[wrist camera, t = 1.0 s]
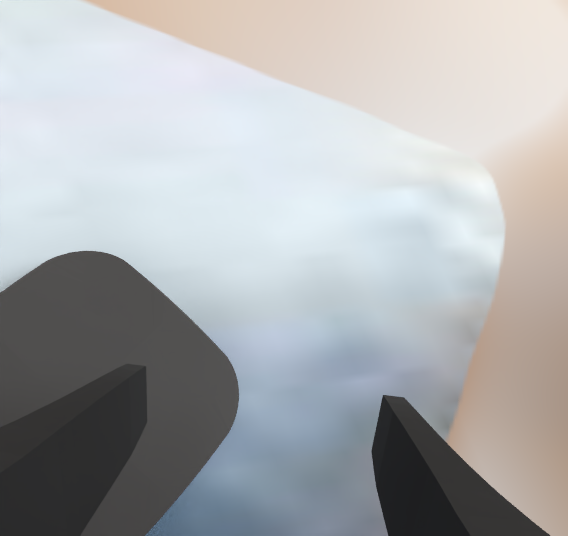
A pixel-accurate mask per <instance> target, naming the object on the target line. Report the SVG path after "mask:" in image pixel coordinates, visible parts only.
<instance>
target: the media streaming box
mask: <svg viewBox="0 0 568 536" xmlns="http://www.w3.org/2000/svg"><path fill="white" fill-rule="evenodd" d="M125 364H134V365H142V366H146V382H147V424H146V426H145V428H144V430H143V432H142V434H141V437H140V439H139V441H138V443H137V445H136V447H135V449H134V451H133V453H132V455H131V456H130V458H129V460H128V461H127V463H126V465H125V466H124V468H123V469H122V471H121V472H120V474H119V476H118V477H117V479H116V480H115V482H114V484H113V485H112V487H111V488H110V490H109V491H108V493H107V494H106V496H105V498H104V499H103V501H102V502H101V504H100V505H99V507H98V509H97V510H96V512H95V513H94V515H93V516H92V518H91V519H90V521H89V523H88V524H87V526H86V527H85V529H84V530H83V532H82V534H81V535H80V536H145V535H146V534H147V533H148V532H149V530H150V529H151V528H152V527H153V526H154V525H155V524H156V523H157V522H158V520H159V519H160V518H161V517H162V516H163V515H164V514H165V513H166V511H167V510H168V509H169V508H170V507H171V506H172V504H173V503H174V502H175V501H176V500H177V499H178V497H179V496H180V495H181V494H182V493H183V491H184V490H185V489H186V488H187V487H188V485H189V484H190V483H191V482H192V480H193V479H194V478H195V477H196V475H197V474H198V473H199V472H200V470H201V469H202V468H203V466H204V465H205V464H206V463H207V461H208V460H209V459H210V457H211V456H212V455H213V453H214V452H215V451H216V449H217V448H218V447H219V445H220V444H221V442H222V441H223V440H224V438H225V437H226V436H227V434H228V433H229V431H230V429H231V427H232V425H233V422H234V420H235V417H236V413H237V408H238V401H239V388H238V381H237V377H236V374H235V371H234V369H233V367H232V364H231V363H230V361H229V359H228V357H227V356H226V355H225V354H224V353H223V352H222V351H221V350H220V349H219V347H218V346H217V345H216V344H215V343H214V342H213V341H212V340H211V339H210V338H209V337H208V336H207V335H206V334H205V333H204V332H203V331H202V330H201V329H200V328H199V327H198V326H197V325H196V324H195V323H194V322H193V321H192V320H191V319H190V318H189V317H188V316H187V315H186V314H185V313H184V312H183V311H182V310H181V309H180V308H179V307H177V306H176V305H175V304H174V303H173V302H172V301H171V300H170V299H169V298H168V297H167V296H166V295H164V294H163V293H162V292H161V291H160V290H159V289H158V288H157V287H155V286H154V285H153V284H152V283H151V282H150V281H148V280H147V279H146V278H145V277H144V276H143V275H141V274H140V273H139V272H138V271H137V270H135V269H134V268H133V267H132V266H130V265H129V264H128V263H127V262H125V261H124V260H122V259H120V258H119V257H116V256H114V255H111V254H108V253H103V252H96V251H79V252H72V253H67V254H64V255H60V256H57V257H55V258H52V259H50V260H48V261H46V262H44V263H43V264H41V265H40V266H38V267H37V268H35V269H34V270H32V271H31V272H29V273H28V274H26V275H25V276H23V277H22V278H21V279H19V280H18V281H16V282H15V283H13V284H12V285H11V286H9V287H8V288H7V289H5V290H4V291H2V292H1V293H0V427H2V426H4V425H6V424H9V423H11V422H13V421H15V420H17V419H20V418H22V417H24V416H26V415H28V414H30V413H32V412H34V411H36V410H38V409H40V408H42V407H44V406H46V405H48V404H50V403H52V402H54V401H56V400H58V399H60V398H62V397H64V396H66V395H68V394H70V393H71V392H73V391H75V390H77V389H79V388H81V387H83V386H85V385H86V384H88V383H90V382H92V381H94V380H96V379H98V378H99V377H101V376H103V375H105V374H107V373H109V372H111V371H113V370H114V369H116V368H118V367H120V366H123V365H125Z"/></svg>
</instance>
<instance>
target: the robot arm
mask: <svg viewBox="0 0 568 536" xmlns="http://www.w3.org/2000/svg"><path fill="white" fill-rule="evenodd" d="M146 424H147V382H146V366H142V365H134V364H125V365H123V366H120V367H118V368H116V369H114V370H113V371H111V372H109V373H107V374H105V375H103V376H101V377H99V378H98V379H96V380H94V381H92V382H90V383H88V384H86V385H85V386H83V387H81V388H79V389H77V390H75V391H73V392H71V393H70V394H68V395H66V396H64V397H62V398H60V399H58V400H56V401H54V402H52V403H50V404H48V405H46V406H44V407H42V408H40V409H38V410H36V411H34V412H32V413H30V414H28V415H26V416H24V417H22V418H20V419H17V420H15V421H13V422H11V423H9V424H6V425H4V426H2V427H0V536H80V535H81V534H82V532H83V530H84V529H85V527H86V526H87V524H88V523H89V521H90V519H91V518H92V516H93V515H94V513H95V512H96V510H97V509H98V507H99V505H100V504H101V502H102V501H103V499H104V498H105V496H106V494H107V493H108V491H109V490H110V488H111V487H112V485H113V484H114V482H115V480H116V479H117V477H118V476H119V474H120V472H121V471H122V469H123V468H124V466H125V465H126V463H127V461H128V460H129V458H130V456H131V455H132V453H133V451H134V449H135V447H136V445H137V443H138V441H139V439H140V437H141V434H142V432H143V430H144V428H145V426H146ZM372 458H373V466H374V474H375V481H376V487H377V492H378V496H379V500H380V504H381V508H382V512H383V516H384V520H385V524H386V528H387V532H388V536H550V535H549V534H548V533H546V532H545V531H544V530H542V529H541V528H540V527H539V526H537V525H536V524H535V523H534V522H532V521H531V520H530V519H529V518H528V517H526V516H525V515H524V514H523V513H522V512H520V511H519V510H518V509H517V508H516V507H514V506H513V505H512V504H511V503H510V502H508V501H507V500H506V499H505V498H504V497H503V496H502V495H500V494H499V493H498V492H497V491H496V490H495V489H494V488H492V487H491V486H490V485H489V484H488V483H487V482H486V481H485V480H484V479H483V478H482V477H481V476H480V475H479V474H477V473H476V472H475V471H474V470H473V469H472V468H471V467H470V466H469V465H468V464H467V463H466V462H465V461H464V460H463V459H462V458H461V457H460V456H459V455H458V454H457V453H456V452H455V451H454V450H453V449H452V448H451V447H450V446H449V445H448V444H447V443H446V442H445V441H444V440H443V439H442V438H441V437H440V436H439V435H438V434H437V432H436V431H435V430H434V429H433V428H432V427H431V426H430V425H429V424H428V423H427V422H426V421H425V420H424V418H423V417H422V416H421V415H420V414H419V413H418V412H417V411H416V410H415V409H414V408H413V407H412V406H411V404H410V403H409V402H408V401H407V400H406V399H405V398H403V397H395V396H387V395H383V398H382V403H381V408H380V412H379V417H378V422H377V427H376V432H375V437H374V442H373V447H372Z"/></svg>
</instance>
